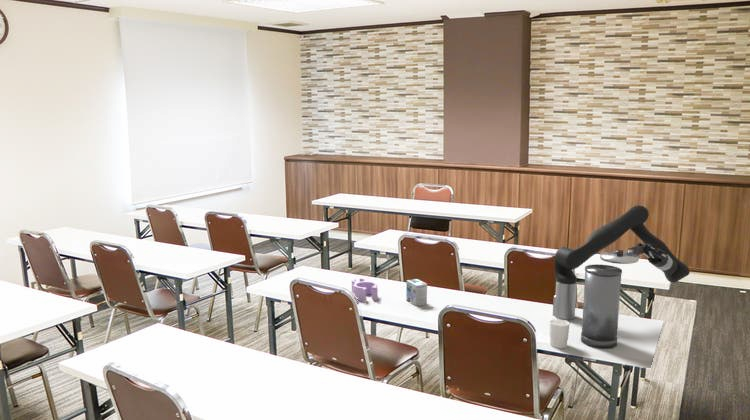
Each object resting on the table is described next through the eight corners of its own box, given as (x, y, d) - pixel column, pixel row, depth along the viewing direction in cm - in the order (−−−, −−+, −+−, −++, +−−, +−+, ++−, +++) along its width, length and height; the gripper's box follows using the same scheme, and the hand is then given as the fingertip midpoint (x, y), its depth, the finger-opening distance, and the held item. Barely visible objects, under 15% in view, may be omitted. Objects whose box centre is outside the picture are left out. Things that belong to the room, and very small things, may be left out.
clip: (346, 292, 323) (346, 279, 322) (367, 289, 328) (367, 277, 327) (359, 302, 305) (359, 289, 304) (381, 299, 310) (381, 287, 309)
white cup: (546, 346, 248) (547, 323, 246) (550, 340, 255) (551, 318, 253) (566, 350, 244) (567, 327, 242) (569, 343, 251) (571, 321, 249)
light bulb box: (405, 300, 309) (405, 280, 307) (417, 298, 312) (417, 278, 310) (415, 306, 300) (416, 285, 298) (427, 304, 302) (427, 283, 301)
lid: (592, 258, 255) (593, 250, 254) (632, 247, 269) (633, 240, 269) (623, 266, 242) (624, 257, 241) (664, 254, 257) (664, 246, 256)
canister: (573, 340, 255) (577, 267, 249) (595, 333, 262) (599, 262, 257) (602, 351, 243) (607, 275, 237) (624, 344, 250) (629, 270, 245)
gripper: (648, 249, 275) (630, 234, 266) (677, 255, 264) (659, 240, 254) (643, 263, 274) (624, 249, 265) (671, 270, 263) (653, 256, 253)
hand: (641, 245), depth 260 cm, fingers closed on lid, 2 cm apart
